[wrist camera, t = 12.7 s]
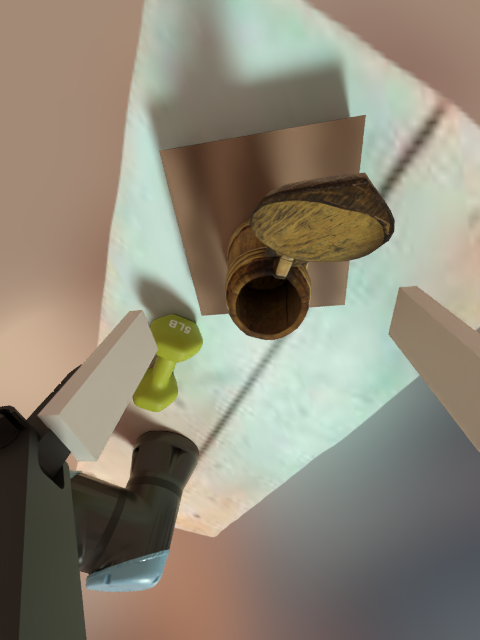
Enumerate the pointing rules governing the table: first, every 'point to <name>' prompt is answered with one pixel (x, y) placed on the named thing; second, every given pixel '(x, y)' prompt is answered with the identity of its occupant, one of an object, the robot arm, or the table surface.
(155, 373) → the dumbbell
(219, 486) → the table surface
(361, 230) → the wooden mug
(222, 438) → the table surface
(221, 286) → the walnut stand
